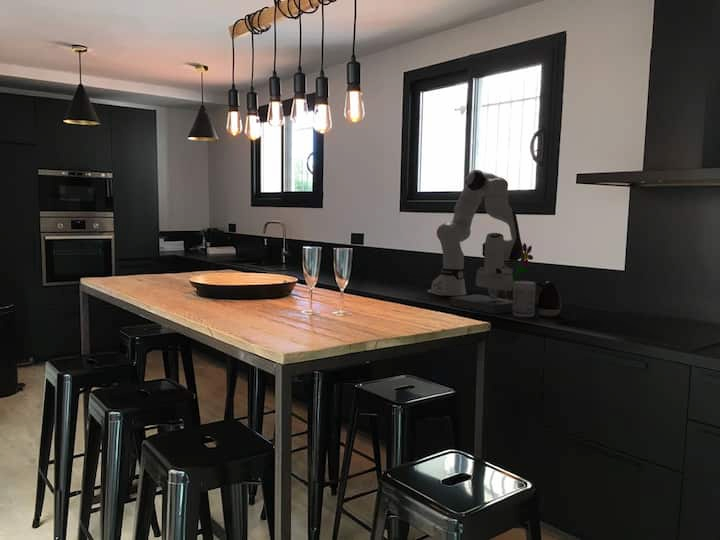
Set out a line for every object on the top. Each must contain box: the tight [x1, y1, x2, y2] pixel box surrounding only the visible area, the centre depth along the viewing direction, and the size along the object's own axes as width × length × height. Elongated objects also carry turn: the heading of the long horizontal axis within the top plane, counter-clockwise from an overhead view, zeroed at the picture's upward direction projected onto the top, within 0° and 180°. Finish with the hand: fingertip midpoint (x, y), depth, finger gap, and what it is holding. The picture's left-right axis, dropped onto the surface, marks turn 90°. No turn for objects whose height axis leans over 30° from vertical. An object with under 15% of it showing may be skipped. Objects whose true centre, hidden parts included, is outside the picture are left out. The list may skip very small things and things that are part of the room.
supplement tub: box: [511, 280, 537, 318], centre depth 255 cm, size 10×10×15 cm
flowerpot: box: [504, 242, 534, 300], centre depth 287 cm, size 14×14×30 cm
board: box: [449, 294, 513, 315], centre depth 275 cm, size 28×18×4 cm, turn 33°
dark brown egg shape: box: [536, 280, 562, 318], centre depth 255 cm, size 10×10×15 cm
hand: (493, 298), depth 270 cm, fingers closed
